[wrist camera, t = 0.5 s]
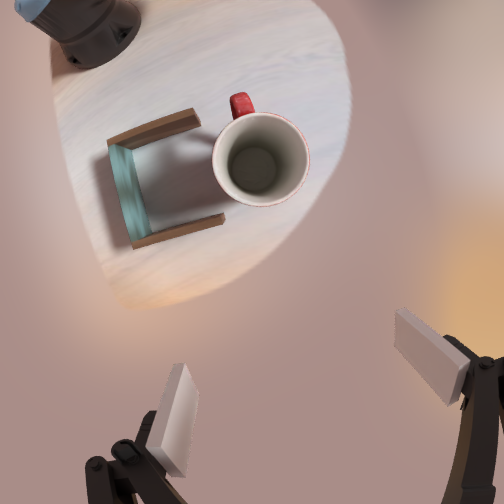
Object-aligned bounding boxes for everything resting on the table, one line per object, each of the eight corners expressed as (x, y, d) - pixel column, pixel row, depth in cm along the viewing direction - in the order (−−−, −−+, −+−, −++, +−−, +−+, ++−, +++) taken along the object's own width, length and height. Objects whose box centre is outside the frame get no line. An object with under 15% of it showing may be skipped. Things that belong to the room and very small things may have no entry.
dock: (124, 146, 35) (106, 139, 29) (199, 119, 35) (192, 107, 29) (148, 241, 38) (133, 249, 32) (225, 219, 38) (222, 224, 32)
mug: (293, 193, 38) (320, 194, 24) (230, 209, 38) (225, 217, 25) (271, 110, 35) (286, 72, 22) (209, 124, 35) (193, 91, 22)
